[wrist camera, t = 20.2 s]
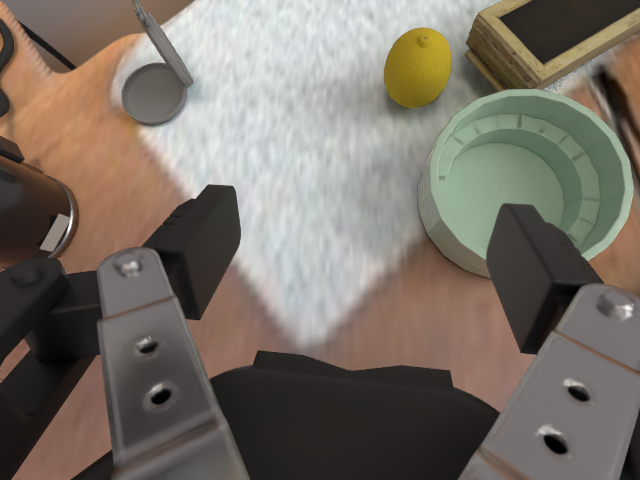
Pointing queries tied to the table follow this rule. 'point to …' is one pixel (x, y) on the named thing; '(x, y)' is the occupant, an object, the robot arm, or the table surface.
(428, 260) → the table surface
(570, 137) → the bowl
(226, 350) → the table surface
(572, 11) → the box
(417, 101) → the lemon
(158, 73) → the pocket watch
